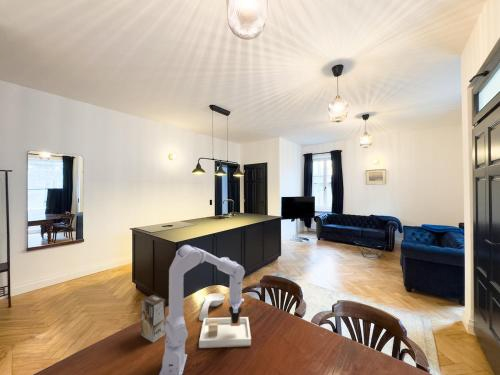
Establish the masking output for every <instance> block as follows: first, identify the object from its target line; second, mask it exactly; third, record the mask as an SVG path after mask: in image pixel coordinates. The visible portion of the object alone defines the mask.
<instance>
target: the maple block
mask: <svg viewBox="0 0 500 375" xmlns="http://www.w3.org/2000/svg"><path fill="white" fill-rule="evenodd" d="M217 332H218V320H209V326H208V337H210V336H217Z"/></svg>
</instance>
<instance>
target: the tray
mask: <svg viewBox="0 0 500 375" xmlns="http://www.w3.org/2000/svg"><path fill="white" fill-rule="evenodd" d="M209 320H218V332H217V336H210V337H208V326H209ZM199 336H200V337H199V341H198V348H199V349H204V348H205V349H206V348H233V347H251V346H252V336H251V328H250V321H249V316H240V326H231V316H230V317H228V316H227V317H208V318H204V320H203V321H202V325H201V330H200V335H199Z"/></svg>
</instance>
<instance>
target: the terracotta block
mask: <svg viewBox="0 0 500 375" xmlns="http://www.w3.org/2000/svg"><path fill="white" fill-rule="evenodd" d="M230 317H231V316H230ZM240 317H241V313H240V314H239V318H238V322H237V323H232V317H231V326H240Z"/></svg>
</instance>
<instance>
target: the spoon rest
mask: <svg viewBox="0 0 500 375" xmlns="http://www.w3.org/2000/svg"><path fill="white" fill-rule="evenodd" d="M203 298H204V302H203V305H202V307H201V309H200V314H199V316H198V321H199V322H200V321H201V322H203V320H204V318H209V307H218V306H220V305H221V304H223V302H224V301H225V299H226V297H225V295H224V294H221V293H215V292H214V293H208V294H207V295H205V296H204V297H203Z"/></svg>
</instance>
